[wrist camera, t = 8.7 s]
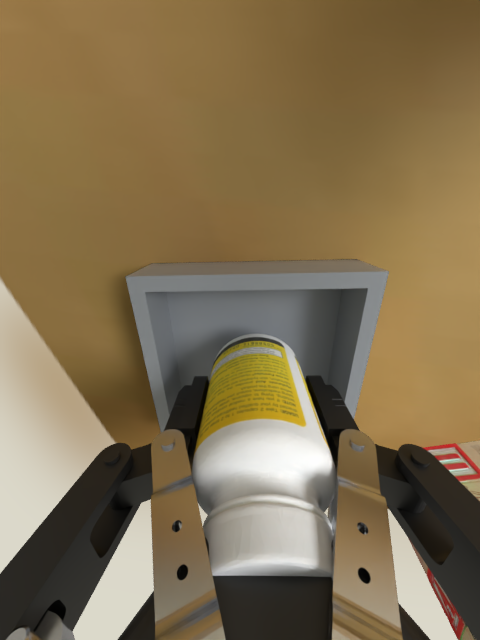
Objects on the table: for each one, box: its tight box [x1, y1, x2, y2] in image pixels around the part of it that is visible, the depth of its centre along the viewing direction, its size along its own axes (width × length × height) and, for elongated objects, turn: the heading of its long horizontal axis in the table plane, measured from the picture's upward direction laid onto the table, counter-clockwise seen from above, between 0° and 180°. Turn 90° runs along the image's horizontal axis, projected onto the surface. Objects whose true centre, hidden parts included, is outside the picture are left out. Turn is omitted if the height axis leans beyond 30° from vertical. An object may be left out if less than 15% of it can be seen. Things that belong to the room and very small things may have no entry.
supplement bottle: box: [191, 334, 336, 577], centre depth 10 cm, size 5×5×10 cm
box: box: [125, 259, 389, 432], centre depth 15 cm, size 13×13×4 cm
